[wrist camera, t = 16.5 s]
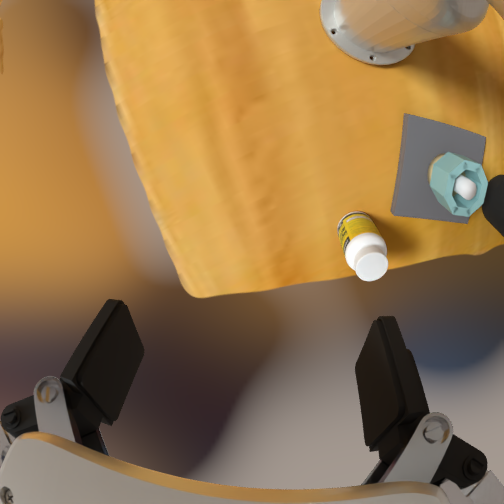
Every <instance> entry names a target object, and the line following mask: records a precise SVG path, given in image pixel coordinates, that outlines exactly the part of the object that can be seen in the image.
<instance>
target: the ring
mask: <svg viewBox="0 0 504 504" xmlns="http://www.w3.org/2000/svg"><path fill="white" fill-rule="evenodd" d="M463 171H464V172H465V174H466V176H465V177H466V178H468V179H469V180H471V181H472V182H474V183H475V185H476V189H477V190H476V194H475V196H474V197H473V198H472V199H471V200H466V199H465V198H463V197H462V196H461V195H459V194H458V193H457V194H456V195H455V196H454V197H453V196H452V191H453V187H454V182H455V178H457V177H458V176H459V175H460V174H461V173H462V172H463ZM487 186H488V181H487V179H486V176H485V173H484V171H483V168H482V166H481V164H479V163H477V162H475V161H473V160H471V159H469V158H467V157H465V156H463V155H459V154H455V153H451V152H447V153H446V154H445V155H444V156H442V157H441V158H440V159H439V160H438V161H437V162H435V163H434V164H433V170H432V175H431V181H430V187H431V189H432V191H433V193H434V195H435V196H436V198H437V200H438V202H439V203H440V204H441V205H443V206H444V207H445V208H446V209H447V210H448V211H449V212H450V213H451V214H453V215H459V216H466V217H469V216H470V215H471V214H473V213H474V212H475V211H476V210H477V209H478V208H479V207H480V206H481V205H482V204H483V202H484V198H485V194H486V190H487Z"/></svg>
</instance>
